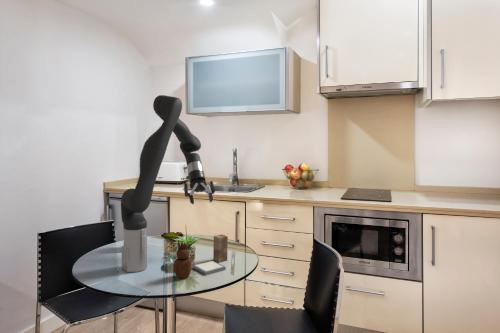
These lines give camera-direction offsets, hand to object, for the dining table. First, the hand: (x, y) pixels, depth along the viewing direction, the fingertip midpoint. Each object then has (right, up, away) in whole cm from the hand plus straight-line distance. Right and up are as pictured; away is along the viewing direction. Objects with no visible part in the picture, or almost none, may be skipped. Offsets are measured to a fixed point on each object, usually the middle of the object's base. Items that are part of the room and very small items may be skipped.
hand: (202, 202), depth 161 cm
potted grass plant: (-4, -27, -25) cm, 37 cm away
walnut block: (+9, -26, -5) cm, 27 cm away
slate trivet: (+5, -26, -16) cm, 31 cm away
